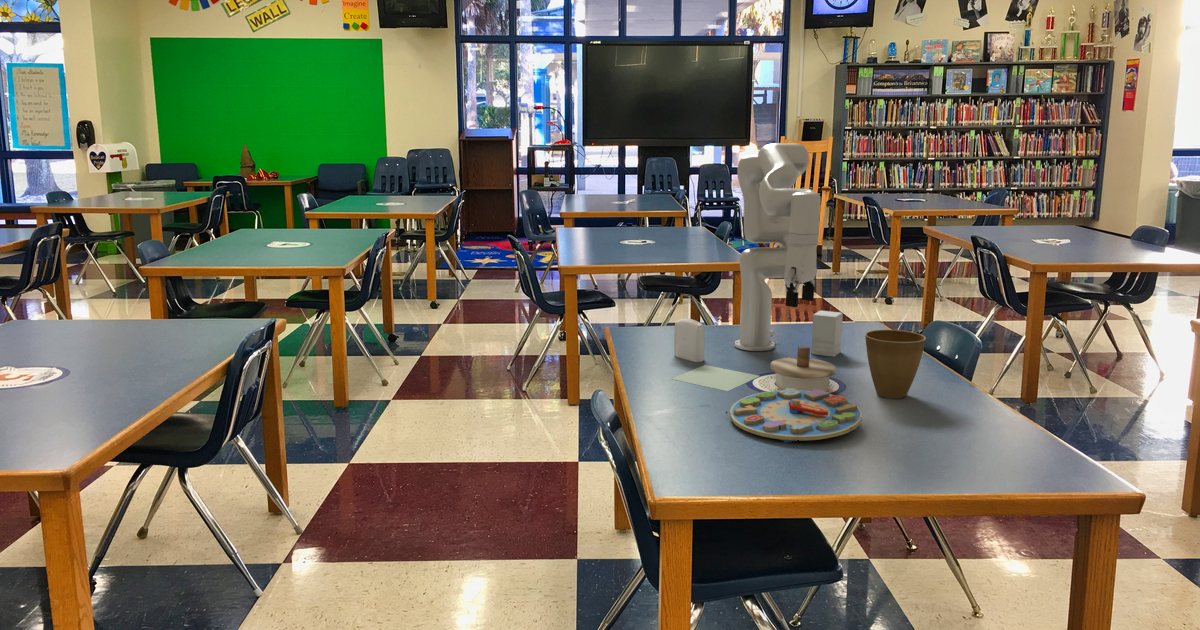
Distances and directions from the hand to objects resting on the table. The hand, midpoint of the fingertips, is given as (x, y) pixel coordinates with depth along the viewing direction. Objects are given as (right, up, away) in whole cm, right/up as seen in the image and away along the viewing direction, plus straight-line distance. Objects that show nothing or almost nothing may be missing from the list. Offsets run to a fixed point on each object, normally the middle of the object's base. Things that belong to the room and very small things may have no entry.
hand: (799, 303), depth 234 cm
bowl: (+1, -23, +3) cm, 23 cm away
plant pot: (+23, -24, -3) cm, 34 cm away
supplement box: (+17, -15, +38) cm, 44 cm away
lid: (+1, -18, +2) cm, 18 cm away
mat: (-21, -21, +10) cm, 31 cm away
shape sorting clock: (-7, -29, -24) cm, 39 cm away
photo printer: (-26, -17, +30) cm, 43 cm away
